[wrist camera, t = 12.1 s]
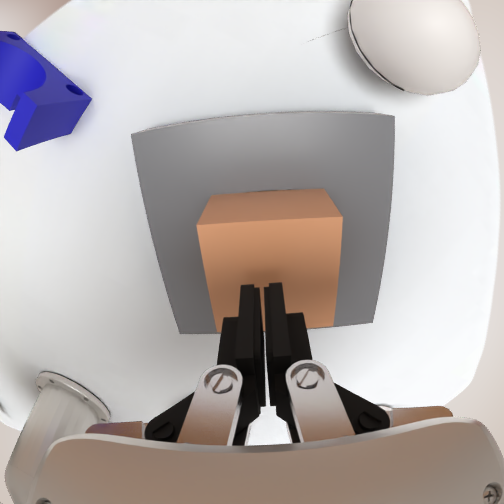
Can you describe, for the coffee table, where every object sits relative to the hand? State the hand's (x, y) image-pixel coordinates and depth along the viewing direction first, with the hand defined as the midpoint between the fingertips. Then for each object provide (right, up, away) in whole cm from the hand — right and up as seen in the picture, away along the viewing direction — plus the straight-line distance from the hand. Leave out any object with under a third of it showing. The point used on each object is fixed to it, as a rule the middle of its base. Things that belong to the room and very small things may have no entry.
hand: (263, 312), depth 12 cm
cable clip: (-17, +15, +2) cm, 23 cm away
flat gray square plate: (+1, +5, +7) cm, 9 cm away
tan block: (+1, +4, +7) cm, 8 cm away
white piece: (+7, +16, +1) cm, 17 cm away
